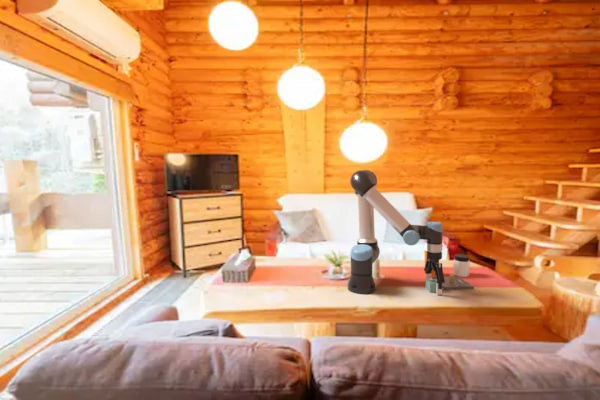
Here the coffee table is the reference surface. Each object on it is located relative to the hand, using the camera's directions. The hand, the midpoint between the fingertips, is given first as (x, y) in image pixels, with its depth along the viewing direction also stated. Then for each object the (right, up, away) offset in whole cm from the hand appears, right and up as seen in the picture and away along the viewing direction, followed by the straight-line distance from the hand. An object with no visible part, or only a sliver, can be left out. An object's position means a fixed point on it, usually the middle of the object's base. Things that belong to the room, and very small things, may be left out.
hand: (433, 289), depth 175 cm
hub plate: (+14, +1, +8) cm, 16 cm away
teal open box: (0, 0, 0) cm, 0 cm away
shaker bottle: (+8, +2, +24) cm, 26 cm away
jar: (+26, +2, +23) cm, 35 cm away
